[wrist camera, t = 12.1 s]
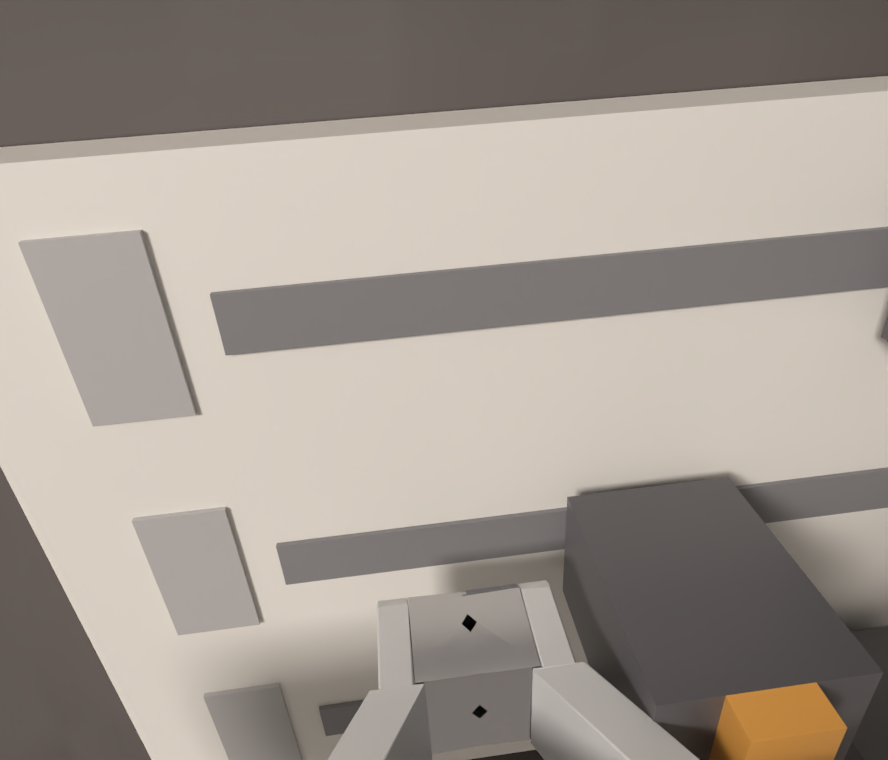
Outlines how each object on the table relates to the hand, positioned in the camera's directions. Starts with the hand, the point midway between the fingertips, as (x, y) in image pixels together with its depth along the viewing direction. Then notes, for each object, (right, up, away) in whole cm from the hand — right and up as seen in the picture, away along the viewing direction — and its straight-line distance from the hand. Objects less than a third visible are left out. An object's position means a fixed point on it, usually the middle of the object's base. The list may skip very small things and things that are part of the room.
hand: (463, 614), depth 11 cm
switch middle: (+3, +1, +1) cm, 4 cm away
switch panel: (+3, +2, +3) cm, 5 cm away
